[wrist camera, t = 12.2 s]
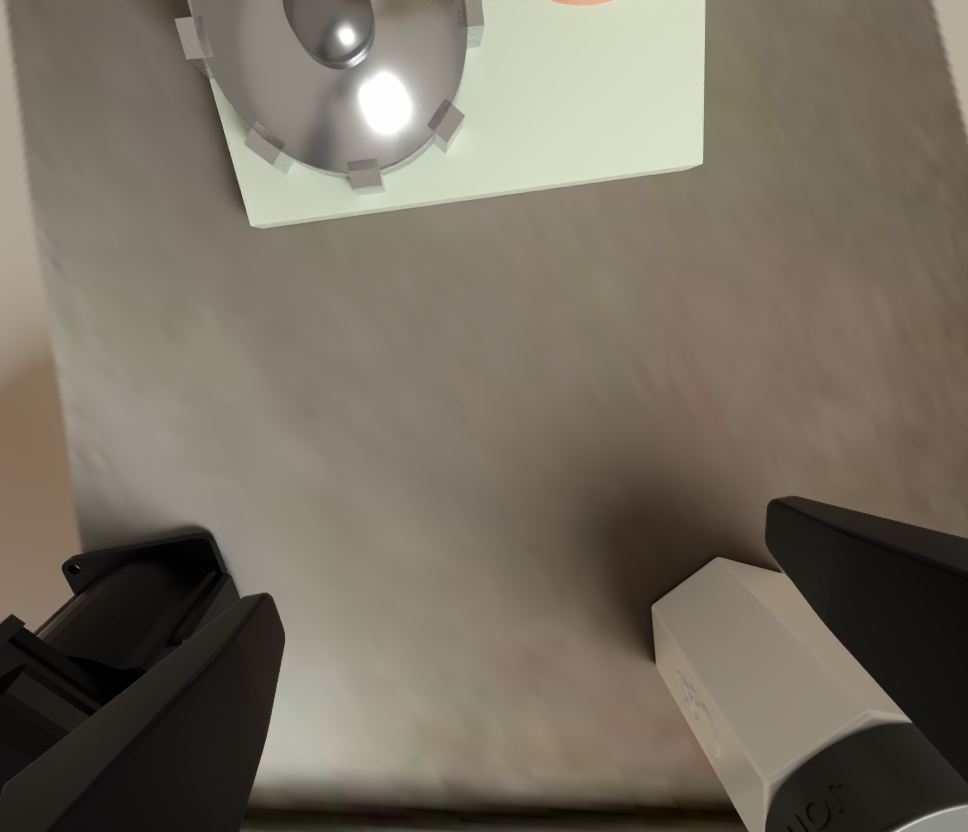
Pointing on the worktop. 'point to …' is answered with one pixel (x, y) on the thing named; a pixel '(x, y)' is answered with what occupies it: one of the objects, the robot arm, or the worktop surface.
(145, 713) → the robot arm
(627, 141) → the board
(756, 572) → the jar
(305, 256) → the worktop surface
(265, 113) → the gear
